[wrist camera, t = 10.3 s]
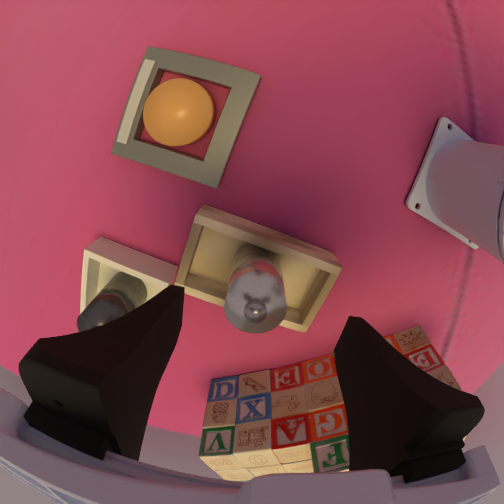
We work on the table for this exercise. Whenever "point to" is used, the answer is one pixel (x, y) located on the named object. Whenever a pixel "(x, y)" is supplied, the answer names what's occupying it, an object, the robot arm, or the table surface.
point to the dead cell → (113, 301)
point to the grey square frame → (226, 129)
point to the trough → (243, 231)
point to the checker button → (179, 112)
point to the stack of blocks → (292, 415)
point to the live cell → (255, 290)
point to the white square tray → (121, 269)
